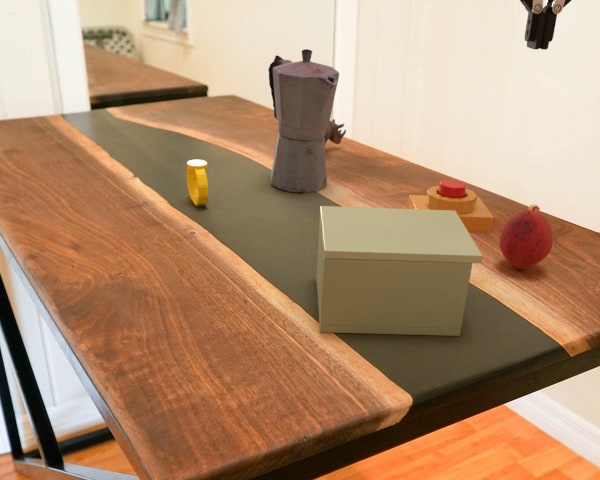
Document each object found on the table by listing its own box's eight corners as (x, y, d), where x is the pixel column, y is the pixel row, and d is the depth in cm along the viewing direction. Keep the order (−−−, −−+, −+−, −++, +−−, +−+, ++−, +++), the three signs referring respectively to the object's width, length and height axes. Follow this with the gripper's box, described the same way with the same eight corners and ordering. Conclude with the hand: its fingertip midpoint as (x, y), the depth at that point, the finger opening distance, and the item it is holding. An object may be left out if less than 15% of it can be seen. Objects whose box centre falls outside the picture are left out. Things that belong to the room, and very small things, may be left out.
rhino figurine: (353, 149, 121) (355, 116, 118) (295, 161, 113) (296, 126, 110) (338, 144, 124) (340, 112, 121) (280, 155, 116) (281, 121, 113)
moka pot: (307, 203, 95) (313, 57, 85) (241, 176, 105) (240, 43, 95) (352, 190, 101) (363, 52, 91) (286, 166, 111) (289, 39, 101)
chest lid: (454, 217, 70) (455, 210, 70) (481, 263, 60) (483, 255, 60) (319, 212, 70) (320, 205, 69) (324, 258, 60) (324, 250, 59)
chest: (437, 282, 74) (446, 217, 70) (460, 336, 64) (472, 263, 60) (316, 278, 74) (319, 213, 70) (319, 332, 63) (324, 259, 60)
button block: (476, 211, 95) (481, 184, 93) (491, 232, 88) (496, 204, 86) (407, 209, 94) (410, 182, 92) (416, 230, 87) (420, 202, 85)
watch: (182, 197, 95) (180, 156, 93) (201, 195, 96) (199, 155, 94) (194, 211, 91) (192, 169, 88) (213, 208, 92) (212, 167, 89)
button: (461, 191, 91) (463, 179, 90) (467, 200, 88) (469, 188, 87) (435, 191, 91) (437, 178, 90) (441, 200, 88) (442, 187, 87)
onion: (534, 285, 74) (550, 218, 70) (486, 270, 77) (498, 205, 73) (551, 268, 78) (567, 204, 74) (505, 255, 81) (518, 193, 77)
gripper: (510, -133, 69) (485, 51, 78) (649, -131, 70) (609, 52, 78) (490, -125, 76) (469, 44, 85) (617, -123, 76) (583, 45, 85)
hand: (536, 47), depth 81 cm, fingers closed
